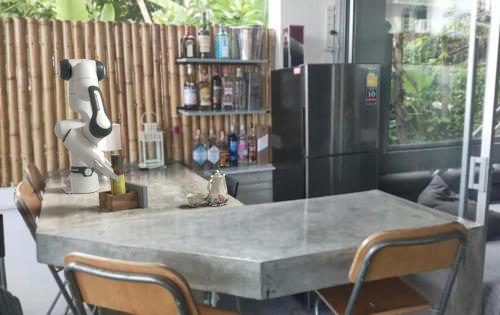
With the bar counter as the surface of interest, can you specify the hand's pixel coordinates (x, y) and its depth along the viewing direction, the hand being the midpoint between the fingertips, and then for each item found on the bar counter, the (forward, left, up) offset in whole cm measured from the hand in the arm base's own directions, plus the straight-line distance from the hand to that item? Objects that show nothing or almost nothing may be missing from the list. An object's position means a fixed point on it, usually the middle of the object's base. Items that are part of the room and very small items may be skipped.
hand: (118, 178), depth 196 cm
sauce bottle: (0, -1, -9) cm, 9 cm away
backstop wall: (0, +7, -13) cm, 15 cm away
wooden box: (0, -1, -13) cm, 13 cm away
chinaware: (+26, +34, -14) cm, 45 cm away
